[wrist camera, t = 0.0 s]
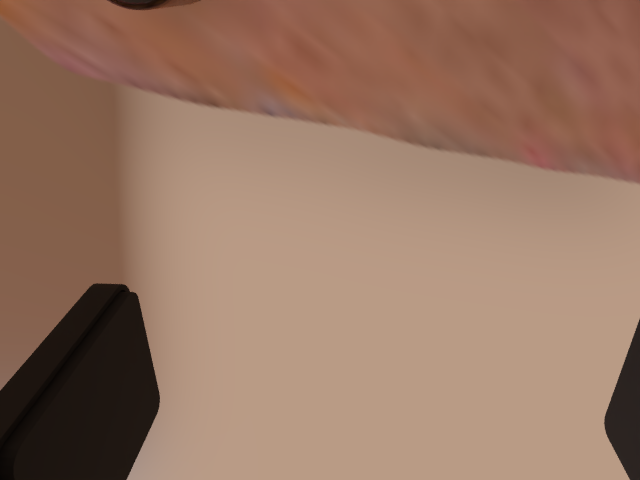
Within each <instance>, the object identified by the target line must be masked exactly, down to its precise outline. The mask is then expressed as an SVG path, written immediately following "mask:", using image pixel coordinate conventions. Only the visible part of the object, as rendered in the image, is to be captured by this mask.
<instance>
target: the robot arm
mask: <svg viewBox="0 0 640 480" xmlns="http://www.w3.org/2000/svg"><path fill="white" fill-rule="evenodd" d="M159 403H160V395H159V390H158V385H157V381H156V376H155V371H154V367H153V363H152V358H151V353H150V349H149V344H148V340H147V335H146V331H145V327H144V321H143V317H142V312H141V308H140V303H139V299H138V296H137V294H136V293H134V292H130V291H129V289H128V288H127V286H126V285H123V284H93V285H92V286H91V287H90V288H89V289H88V290H87V291H86V292H85V293H84V294H83V296H82V297H81V298H80V299H79V300H78V301H77V302H76V304H75V305H74V306H73V307H72V308H71V309H70V311H69V312H68V313H67V314H66V315H65V317H64V318H63V319H62V320H61V321H60V322H59V323H58V325H57V326H56V327H55V328H54V329H53V330H52V332H51V333H50V334H49V335H48V336H47V337H46V338H45V340H44V341H43V342H42V343H41V344H40V345H39V347H38V348H37V349H36V350H35V351H34V353H32V355H31V356H30V357H29V358H28V359H27V360H26V362H25V363H24V364H23V365H22V366H21V367H20V369H19V370H18V371H17V372H16V373H15V374H14V376H13V377H12V378H11V379H10V380H9V381H8V382H7V384H6V385H5V386H4V387H3V388H2V389H1V391H0V480H126V479H127V477H128V475H129V473H130V471H131V469H132V467H133V464H134V462H135V460H136V458H137V456H138V454H139V452H140V449H141V447H142V445H143V443H144V441H145V439H146V436H147V434H148V432H149V430H150V428H151V426H152V423H153V421H154V419H155V417H156V415H157V412H158V409H159ZM604 424H605V430H606V434H607V436H608V438H609V441H610V442H611V444H612V446H613V448H614V450H615V452H616V454H617V456H618V458H619V460H620V461H621V463H622V465H623V467H624V469H625V471H626V473H627V475H628V477H629V478H630V480H640V320H639V323H638V325H637V328H636V331H635V334H634V337H633V339H632V342H631V345H630V348H629V350H628V354H627V357H626V359H625V362H624V365H623V368H622V370H621V373H620V376H619V379H618V381H617V384H616V387H615V390H614V392H613V395H612V398H611V401H610V404H609V407H608V409H607V412H606V415H605V422H604Z"/></svg>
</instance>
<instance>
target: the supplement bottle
mask: <svg viewBox="0 0 640 480" xmlns="http://www.w3.org/2000/svg"><path fill="white" fill-rule="evenodd" d="M108 1H109V2H111V3H113V4H115V5H117V6H120V7H123V8H127V9H132V10H151V9H159V8H166V7H174V6H181V5H187V4H192V3H195V2H198V1H200V0H108Z"/></svg>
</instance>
